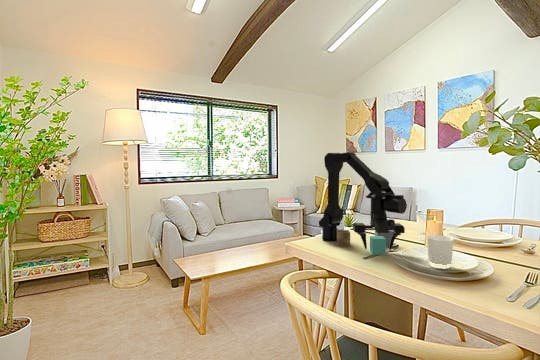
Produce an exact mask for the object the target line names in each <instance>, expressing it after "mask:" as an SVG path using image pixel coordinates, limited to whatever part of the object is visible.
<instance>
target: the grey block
mask: <svg viewBox="0 0 540 360" xmlns="http://www.w3.org/2000/svg"><path fill="white" fill-rule="evenodd" d="M374 236H383V237H384V238H385V239H386V247H387V246H388V245H389V233H377V232H376V230H374ZM388 247H389V246H388Z"/></svg>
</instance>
